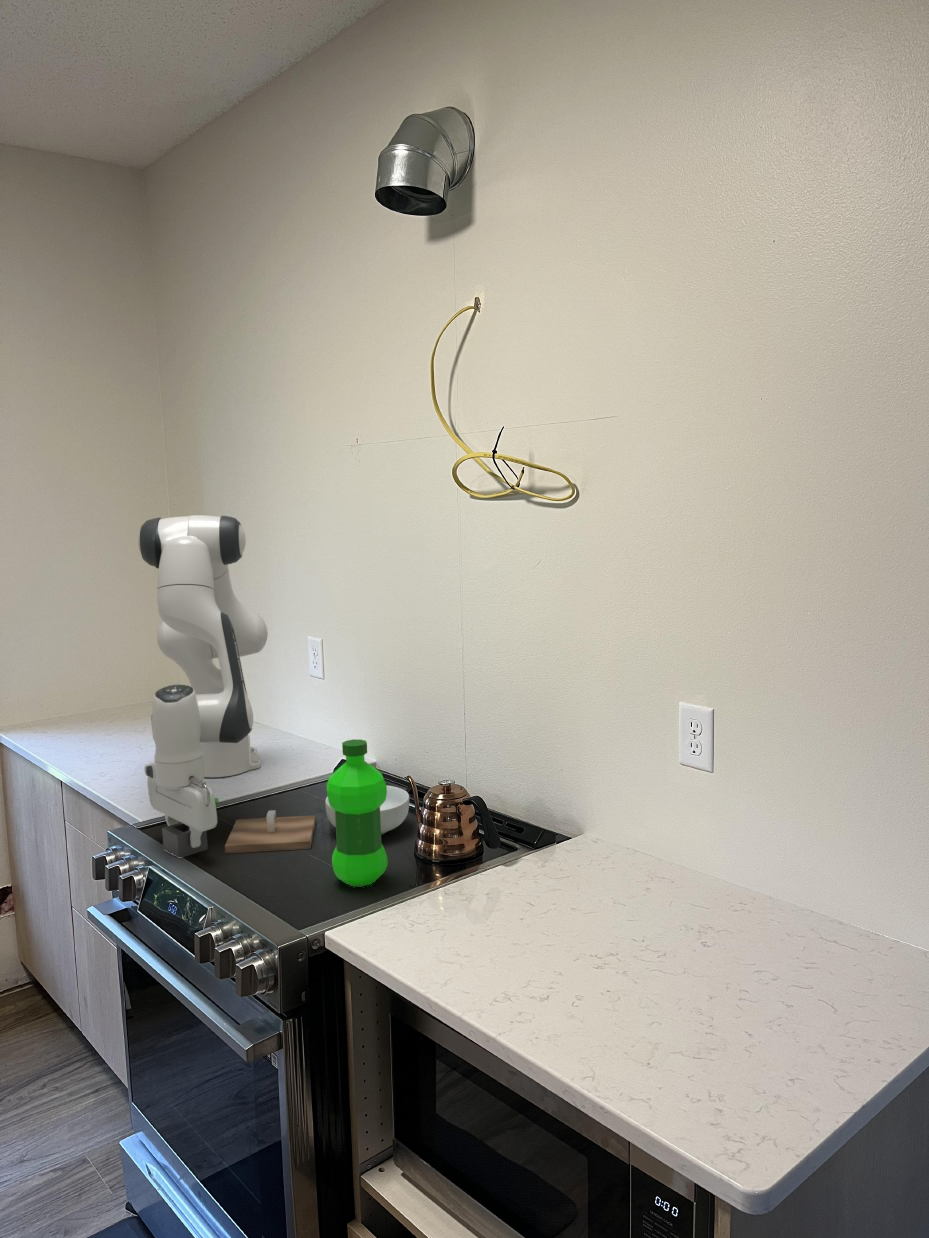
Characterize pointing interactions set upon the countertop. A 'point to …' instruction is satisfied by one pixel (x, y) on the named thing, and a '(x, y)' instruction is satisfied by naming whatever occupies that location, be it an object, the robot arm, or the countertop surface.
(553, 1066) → the countertop surface
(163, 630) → the robot arm
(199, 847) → the gray open-top tub
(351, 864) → the plastic bottle
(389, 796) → the cereal bowl
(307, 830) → the shaft base
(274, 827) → the shaft
